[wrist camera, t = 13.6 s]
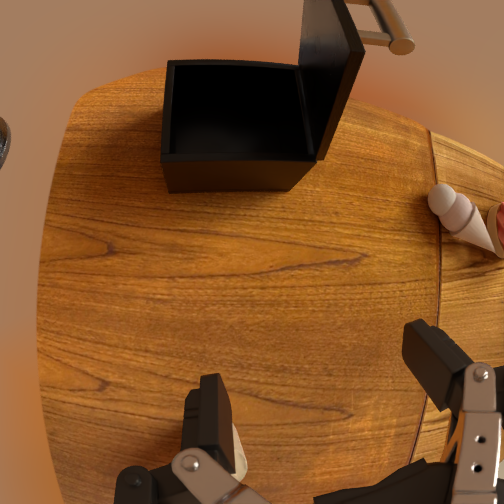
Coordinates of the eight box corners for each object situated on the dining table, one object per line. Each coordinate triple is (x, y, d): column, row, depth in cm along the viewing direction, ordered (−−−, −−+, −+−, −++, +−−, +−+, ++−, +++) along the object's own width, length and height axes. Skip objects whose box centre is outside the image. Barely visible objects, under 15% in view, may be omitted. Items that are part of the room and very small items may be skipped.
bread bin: (168, 194, 32) (160, 162, 24) (171, 105, 34) (167, 60, 25) (289, 191, 35) (317, 162, 26) (279, 107, 36) (300, 65, 28)
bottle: (190, 455, 29) (191, 506, 19) (184, 415, 30) (181, 460, 20) (238, 451, 30) (254, 500, 20) (234, 411, 31) (249, 454, 21)
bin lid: (350, 50, 12) (446, 64, 11) (307, -49, 13) (380, -41, 13) (315, 160, 26) (374, 159, 26) (298, 62, 27) (349, 63, 27)
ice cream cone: (478, 260, 39) (415, 202, 41) (499, 232, 37) (437, 171, 38) (490, 275, 34) (422, 211, 35) (514, 244, 31) (448, 175, 33)
